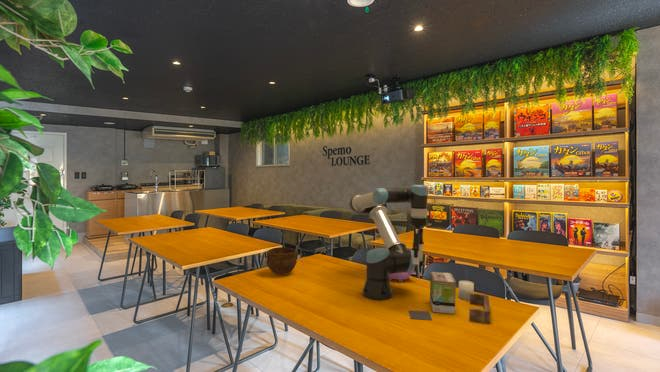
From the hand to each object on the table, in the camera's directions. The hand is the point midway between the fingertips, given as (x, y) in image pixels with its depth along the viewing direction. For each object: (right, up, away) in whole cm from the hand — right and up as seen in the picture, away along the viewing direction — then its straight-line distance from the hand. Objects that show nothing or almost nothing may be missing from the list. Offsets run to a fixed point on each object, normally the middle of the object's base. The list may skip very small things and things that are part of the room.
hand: (417, 260), depth 164 cm
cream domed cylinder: (+26, -21, +7) cm, 34 cm away
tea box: (+10, -21, -5) cm, 24 cm away
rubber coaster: (-3, -22, -14) cm, 26 cm away
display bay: (+25, -21, -11) cm, 35 cm away
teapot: (-1, -20, +37) cm, 42 cm away
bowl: (-72, -19, +46) cm, 88 cm away
